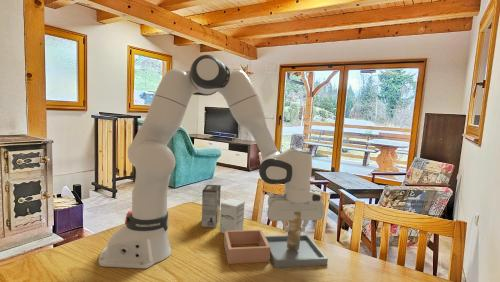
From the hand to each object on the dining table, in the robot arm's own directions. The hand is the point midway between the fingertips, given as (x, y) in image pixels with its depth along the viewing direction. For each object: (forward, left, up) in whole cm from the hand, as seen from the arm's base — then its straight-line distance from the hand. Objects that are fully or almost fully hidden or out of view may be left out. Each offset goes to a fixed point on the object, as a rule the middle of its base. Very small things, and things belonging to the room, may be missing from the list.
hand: (294, 231), depth 103 cm
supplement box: (-20, +19, -8) cm, 29 cm away
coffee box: (-28, +28, -8) cm, 40 cm away
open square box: (-17, +2, -8) cm, 19 cm away
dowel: (0, 0, -6) cm, 6 cm away
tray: (0, 0, -8) cm, 8 cm away
